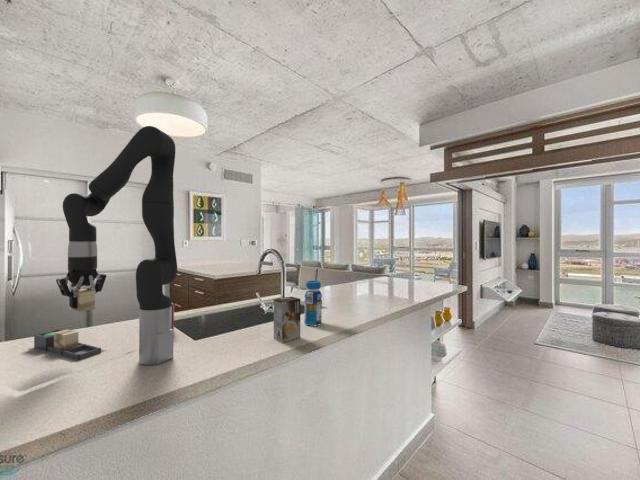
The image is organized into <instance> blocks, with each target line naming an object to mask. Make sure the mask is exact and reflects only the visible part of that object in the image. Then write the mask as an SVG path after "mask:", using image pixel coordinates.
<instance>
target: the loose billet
mask: <svg viewBox="0 0 640 480" xmlns="http://www.w3.org/2000/svg"><path fill="white" fill-rule="evenodd" d="M77 297H78V308H77V309H72V308H71V307H70V306H69V310H71V311H76V312H85V311H90V310H91V311H92V310H95V309H96V308H95V307H96V302H95V301H96V294H95V291H92V290H87V289H86V288H85V289H84V288H83V289H80V290H79V292H78V295H77Z"/></svg>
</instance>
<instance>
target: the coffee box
mask: <svg viewBox="0 0 640 480" xmlns="http://www.w3.org/2000/svg"><path fill="white" fill-rule="evenodd" d="M296 338H297V339H301V298H299V297H295V296H286V297H281V298H274V299H273V340H275V339H276V341H277V340H278V342H279V341H280V343H281V342H283V343H286V341H287V342H290V341H293V339H294V340H297V339H296Z"/></svg>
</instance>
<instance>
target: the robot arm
mask: <svg viewBox="0 0 640 480" xmlns="http://www.w3.org/2000/svg"><path fill="white" fill-rule="evenodd" d="M148 157H150V161H151V162H150V163H151V166H150V167H151V171H150V172H151V173H150V179H149V180H148V183H147V185H146V187H145V189H144V191H143V193H142V198H141V216H142V217H141V218H142V221H143V223H144V225H145V227H146V230H147V232H148V233H149V235H150V237H151V238H152V241H153V244H154V258H153V257H152V258H146V259H144V260H141V261H140V262H139V264H138V265H137V268H136V271H135V285H136V286H135V287H136V288H135V289H136V299H137V302H138V304H139V309H138V310H139V315H138V316H139V319H138V322H139V323H138V325H139V326H138V329H139V330H138V333H139V335H138V336H139V337H138V355H139V356H138V363H139V364H141V365H146V366H151V365H156V366H158V365H160V364H163V363H164V362H167V361H169V360H172V359H173V358H174V339H175V338H174V337H175V336H174V333H175V331H174V330H175V329H174V330H173V329H171V321H172V303H173V300H172V297H171V296H170V295H165V294H164V292H163V286H165V285H169V284H171V283H173V282H174V281H175V279H176V278H177V275H178V262H177V261H178V260H177V254H176V253H177V252H176V245H175V227H174V225H175V223H174V221H175V218H174V217H175V205H174V204H175V203H174V202H175V201H174V173H175V172H174V170H175V162H176V160H175V159H176V144H175V141H174V139H173V138H172V137H171V136H170V134H169V135H168V134H167V133H166V132H164V131H163V130H161V129H159V128H158V127H156V126H153V125H145V126H143V127H142V128H140V129H138V131H137V132H136V133H135V134H134V135H133V136H132V137H131V139H130V140H129V141H128V143H127V144H126V145H125V147H124V148H123V149H122V150H121V152H120V153H119V154H118V155H117V156H116V158H115V159H114V160H113V161H112V163H110V165H108V167H106V168H105V169H104V170H103V171H102V172H100V174H99V175H97V176H95V178H94V179H93V180H91V181H90V182H89V184H88V190H89V192H90V193H89V194H83V193H75V192H74V193H70V194H67V195H66V196H65V197H64V199H63V201H62V211H63V214H64V218H65V221H66V224H67V227H68V230H69V231H68V246H67V274H66V276H64V277H62V278H56V279H55V282H56V284H57V287H58V289H59V291H60V293H61V296H63V297H68V298H69V300H68V301H69V308H70V307H71V308H72V309H77V308H78V297H77V295H78V292H79V290H82V289H81V288H82V287H84V288H85V290H92V291H95V295H96V294H97V293H99V292H102V290H103V287H104V285H105V282H106V278H107V274H104V273H99V272H98V270H97V268H98V244H97V243H98V242H97V238H98V237H97V227H96V225H95V224H93V223H90V222H89V220H88V217H95V216H97V215H99V214H101V213H102V212H103V211H104V210H105V208H106V206H107V205H108V204H109V202H110V200H111V198H113V197H114V196H116V194H117V193H118V192H120V191H121V190H122V189H123V188H124V187H125V186H126V185H127V184H128V182H129V181H130V178H131V176H132V173H133V171H134V169H135V168H136V167H137V166H138V164H140V163H141V162H142V161H143V160H145V159H146V158H148ZM95 279H96V282H95ZM69 282H70V285H69V286H68V283H69Z"/></svg>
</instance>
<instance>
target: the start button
mask: <svg viewBox="0 0 640 480" xmlns="http://www.w3.org/2000/svg"><path fill="white" fill-rule="evenodd" d="M54 333H55V332H51V333H47V334H45V335H44V336H47V337H49V336H53V335H54Z"/></svg>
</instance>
